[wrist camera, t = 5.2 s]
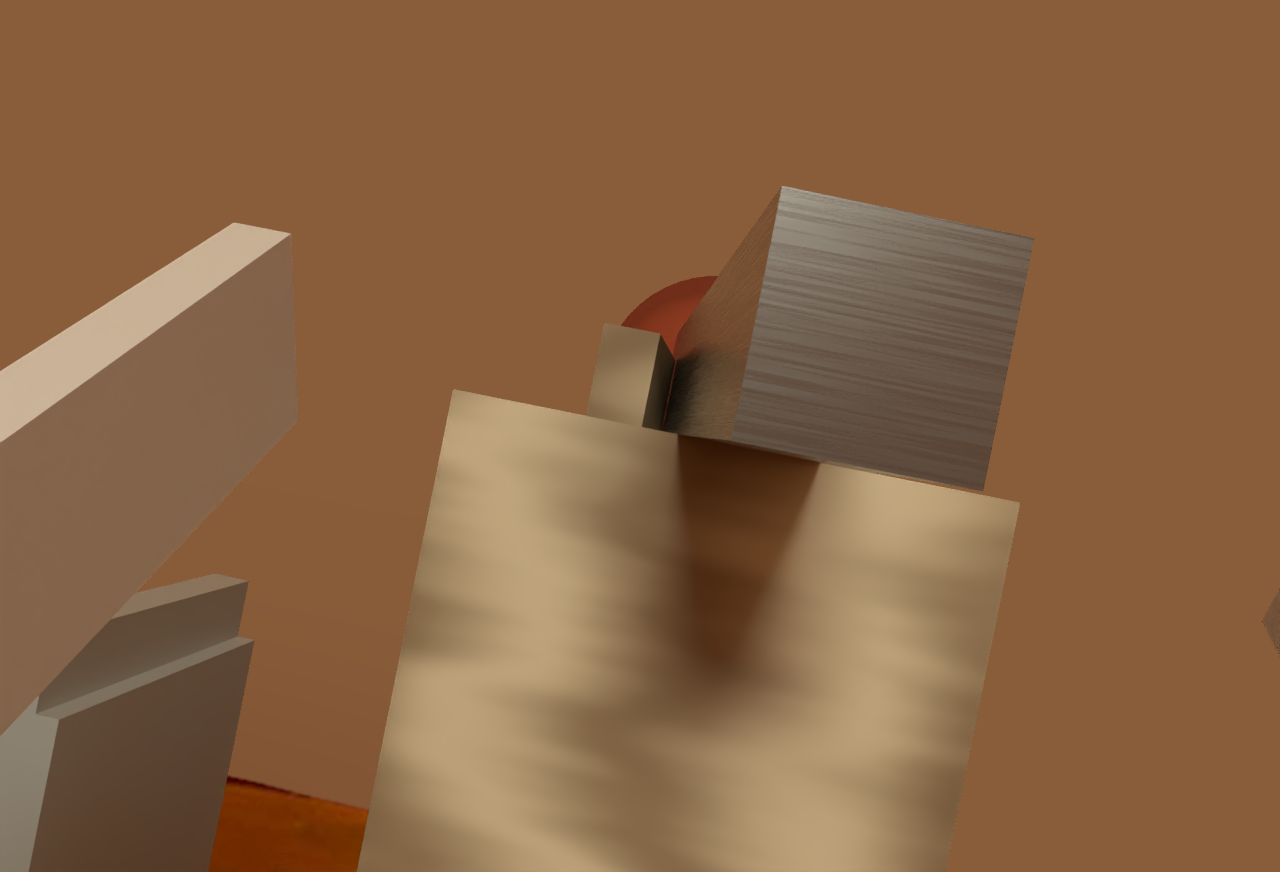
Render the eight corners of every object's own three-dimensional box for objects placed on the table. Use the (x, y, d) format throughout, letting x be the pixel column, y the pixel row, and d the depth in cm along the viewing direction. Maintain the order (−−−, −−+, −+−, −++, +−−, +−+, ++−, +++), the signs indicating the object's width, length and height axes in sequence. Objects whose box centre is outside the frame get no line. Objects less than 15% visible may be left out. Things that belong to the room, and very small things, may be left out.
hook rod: (527, 576, 12) (646, -21, 12) (580, 481, 34) (624, 262, 34) (1115, 692, 13) (1233, 104, 13) (797, 524, 34) (841, 307, 34)
